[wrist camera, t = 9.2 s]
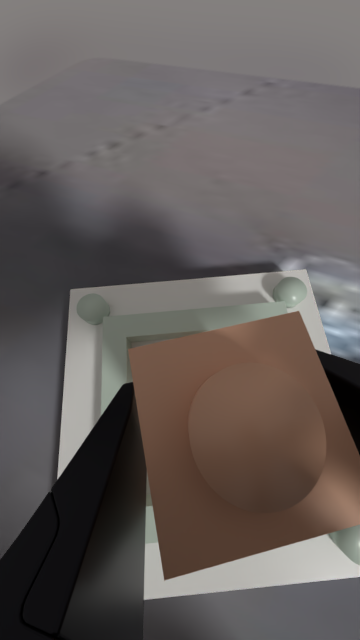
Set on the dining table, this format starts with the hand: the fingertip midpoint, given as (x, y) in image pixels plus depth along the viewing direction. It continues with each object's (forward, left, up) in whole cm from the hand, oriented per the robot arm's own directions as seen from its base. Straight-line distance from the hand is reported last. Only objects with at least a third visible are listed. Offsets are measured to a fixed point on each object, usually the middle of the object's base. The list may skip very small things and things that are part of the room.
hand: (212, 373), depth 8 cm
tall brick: (0, -1, -7) cm, 8 cm away
